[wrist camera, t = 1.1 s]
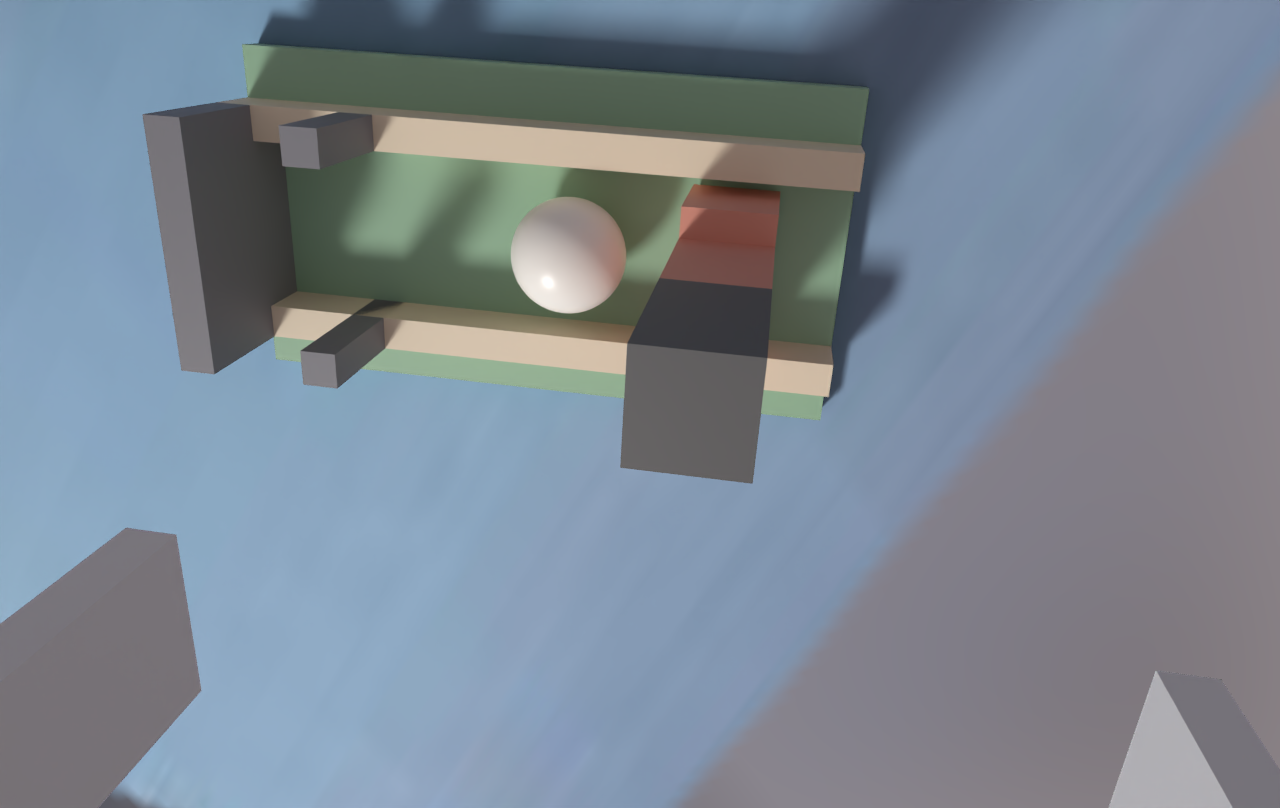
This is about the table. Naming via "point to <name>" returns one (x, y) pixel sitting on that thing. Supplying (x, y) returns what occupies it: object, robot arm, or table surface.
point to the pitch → (482, 212)
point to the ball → (568, 255)
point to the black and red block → (704, 341)
